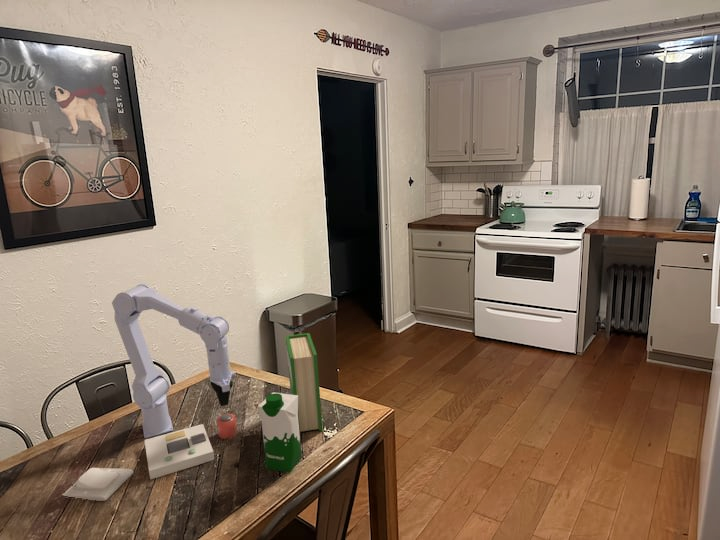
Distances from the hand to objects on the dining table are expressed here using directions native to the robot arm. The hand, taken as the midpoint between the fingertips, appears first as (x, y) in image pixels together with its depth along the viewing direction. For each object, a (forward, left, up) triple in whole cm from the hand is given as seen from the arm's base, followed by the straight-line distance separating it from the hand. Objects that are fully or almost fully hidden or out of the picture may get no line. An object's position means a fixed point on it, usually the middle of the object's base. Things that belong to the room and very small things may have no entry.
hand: (224, 404), depth 141 cm
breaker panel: (+3, -14, -9) cm, 17 cm away
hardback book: (+4, +23, -10) cm, 25 cm away
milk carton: (+22, +10, -10) cm, 26 cm away
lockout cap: (0, 0, -10) cm, 10 cm away
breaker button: (+3, -14, -9) cm, 17 cm away
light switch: (+6, -34, -10) cm, 36 cm away
